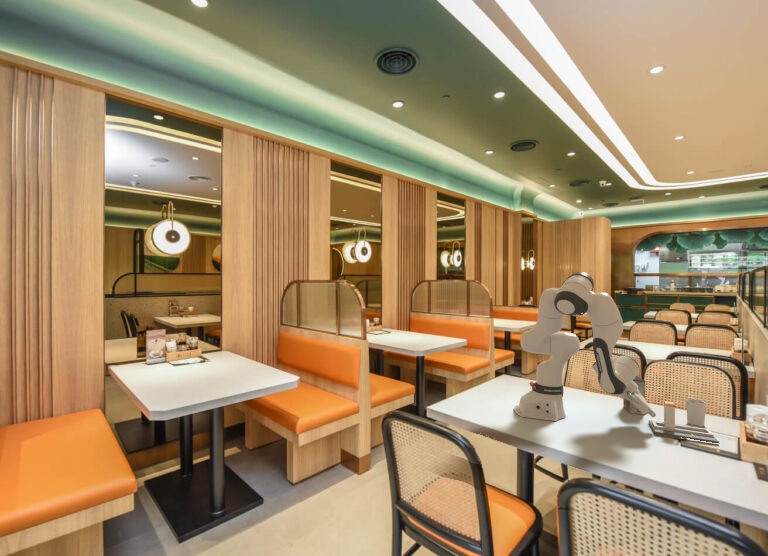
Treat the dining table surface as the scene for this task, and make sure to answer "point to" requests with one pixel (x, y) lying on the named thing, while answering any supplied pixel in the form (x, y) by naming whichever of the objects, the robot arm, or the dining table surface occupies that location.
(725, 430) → the dining table surface
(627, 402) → the coffee box
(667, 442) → the dining table surface
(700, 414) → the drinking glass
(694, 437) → the console
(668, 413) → the fader
